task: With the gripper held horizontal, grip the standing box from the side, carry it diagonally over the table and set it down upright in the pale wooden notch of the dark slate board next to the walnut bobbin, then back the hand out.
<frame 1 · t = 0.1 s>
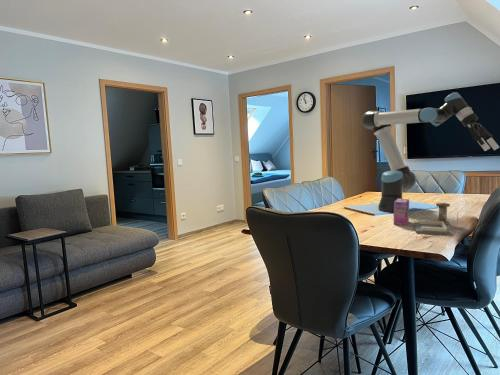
hand: (492, 149, 190), 36 cm above the table, tool tilted 35°, fingers open, 13 cm apart
box: (401, 223, 187), on the table
bobbin: (442, 223, 183), on the table
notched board: (431, 229, 171), on the table
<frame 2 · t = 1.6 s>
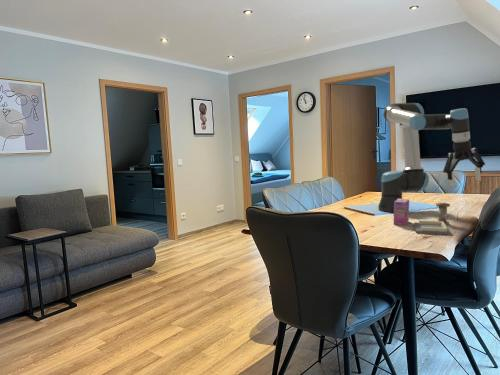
hand: (465, 183, 182), 20 cm above the table, tool pointing down, fingers open, 13 cm apart
nothing on the table moved.
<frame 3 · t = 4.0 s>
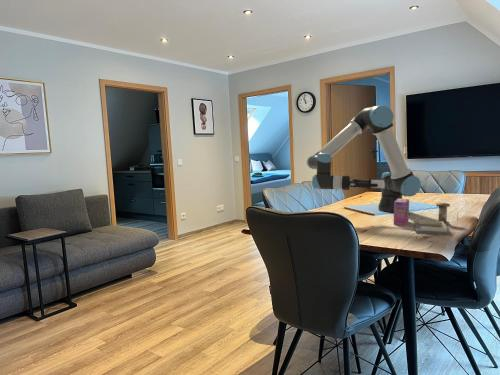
hand: (384, 184, 188), 20 cm above the table, tool horizontal, fingers open, 13 cm apart
nothing on the table moved.
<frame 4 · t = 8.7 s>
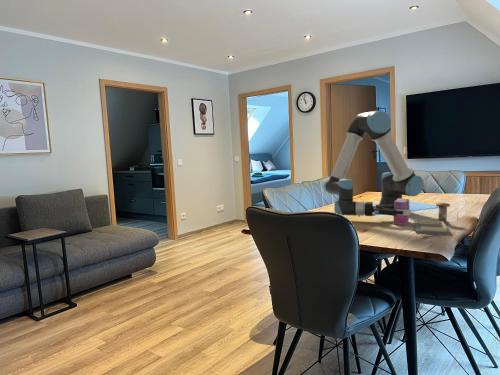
hand: (410, 210, 185), 7 cm above the table, tool horizontal, fingers closed on box, 11 cm apart
box: (401, 223, 187), on the table, touching gripper
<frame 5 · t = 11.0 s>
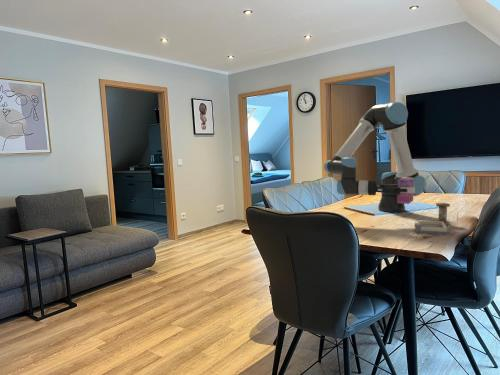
hand: (414, 188, 180), 18 cm above the table, tool horizontal, fingers closed on box, 11 cm apart
box: (405, 202, 182), point 11 cm above the table, touching gripper
when the fingers open (9 cm above the table, at t = 13.7 s): box drops 1 cm, resting on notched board.
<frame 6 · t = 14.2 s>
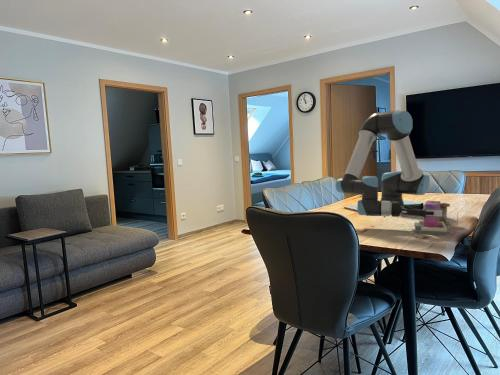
hand: (440, 210, 169), 9 cm above the table, tool horizontal, fingers open, 13 cm apart
box: (431, 227, 171), point 1 cm above the table, touching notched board
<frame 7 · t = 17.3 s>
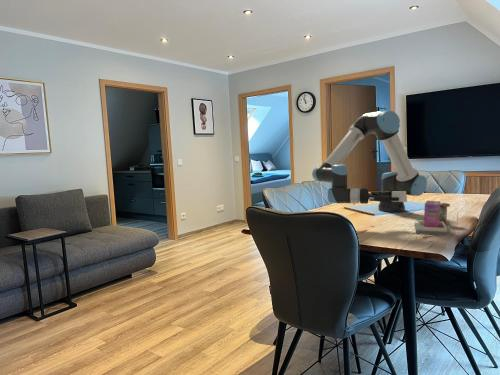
hand: (406, 196, 173), 16 cm above the table, tool horizontal, fingers open, 13 cm apart
nothing on the table moved.
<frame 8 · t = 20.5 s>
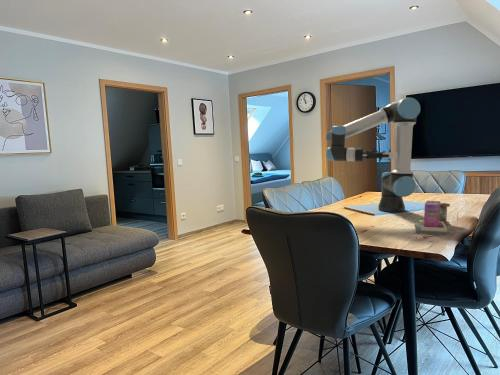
hand: (397, 155, 192), 34 cm above the table, tool horizontal, fingers open, 13 cm apart
nothing on the table moved.
at the end: box 0.1 cm off-centre on the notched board, point 1.0 cm above the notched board's base; box tilted 0°; the gripper is holding nothing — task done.
